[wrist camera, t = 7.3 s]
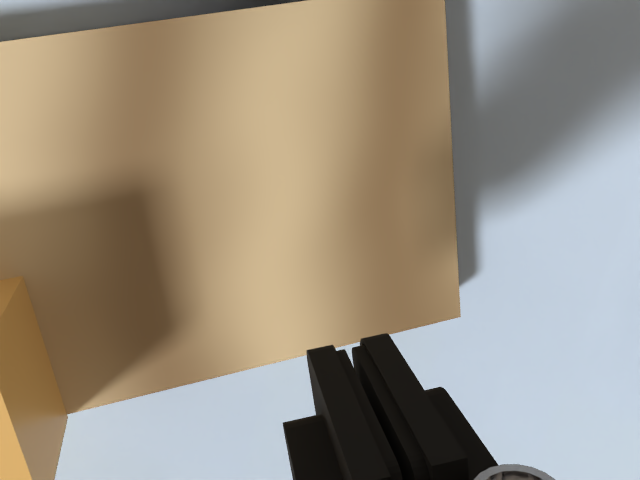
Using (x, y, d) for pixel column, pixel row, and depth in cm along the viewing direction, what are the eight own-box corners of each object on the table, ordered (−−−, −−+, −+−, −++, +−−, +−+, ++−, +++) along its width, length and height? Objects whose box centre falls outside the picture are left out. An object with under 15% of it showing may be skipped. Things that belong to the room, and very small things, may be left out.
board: (423, -16, 16) (444, -18, 15) (442, 299, 19) (460, 316, 18) (-671, 132, 11) (-759, 144, 10) (-406, 503, 15) (-451, 542, 14)
